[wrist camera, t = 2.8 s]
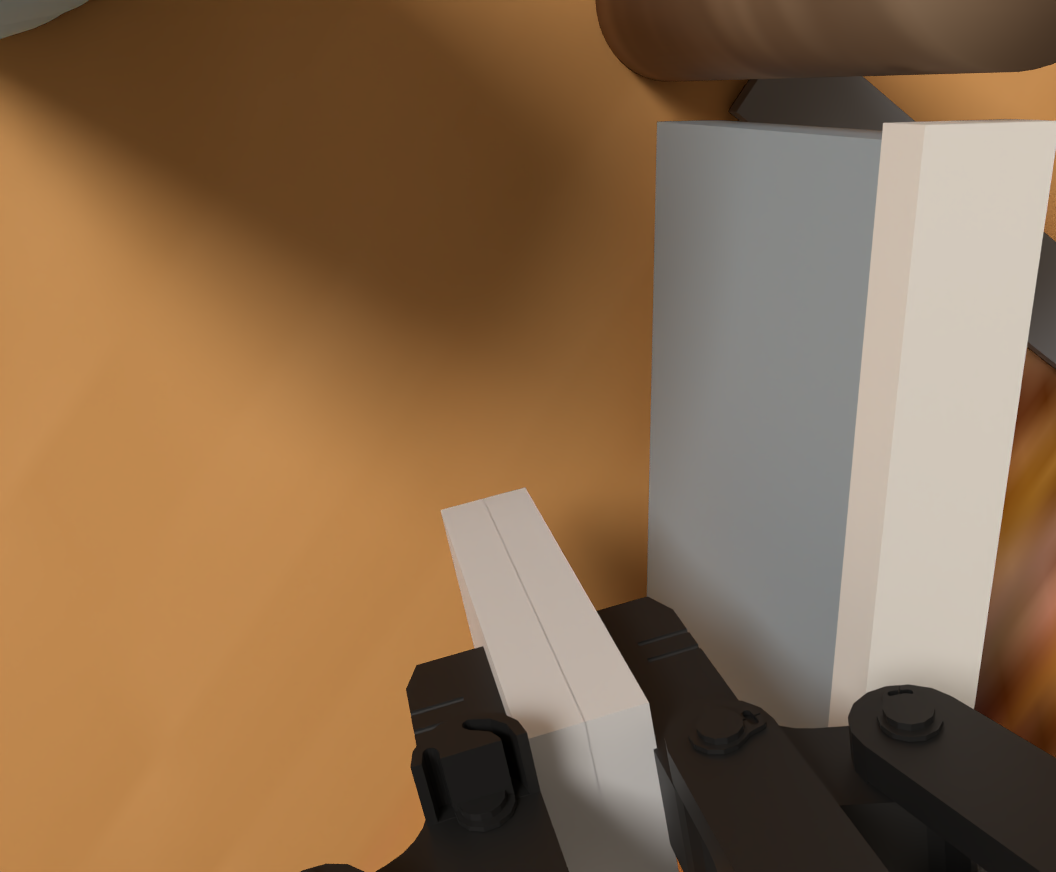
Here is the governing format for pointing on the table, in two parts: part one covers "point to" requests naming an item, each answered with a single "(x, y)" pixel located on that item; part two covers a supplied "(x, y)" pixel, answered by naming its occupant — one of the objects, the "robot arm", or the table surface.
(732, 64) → the posts
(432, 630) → the table surface
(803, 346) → the white thick panel
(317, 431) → the table surface
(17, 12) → the cup
